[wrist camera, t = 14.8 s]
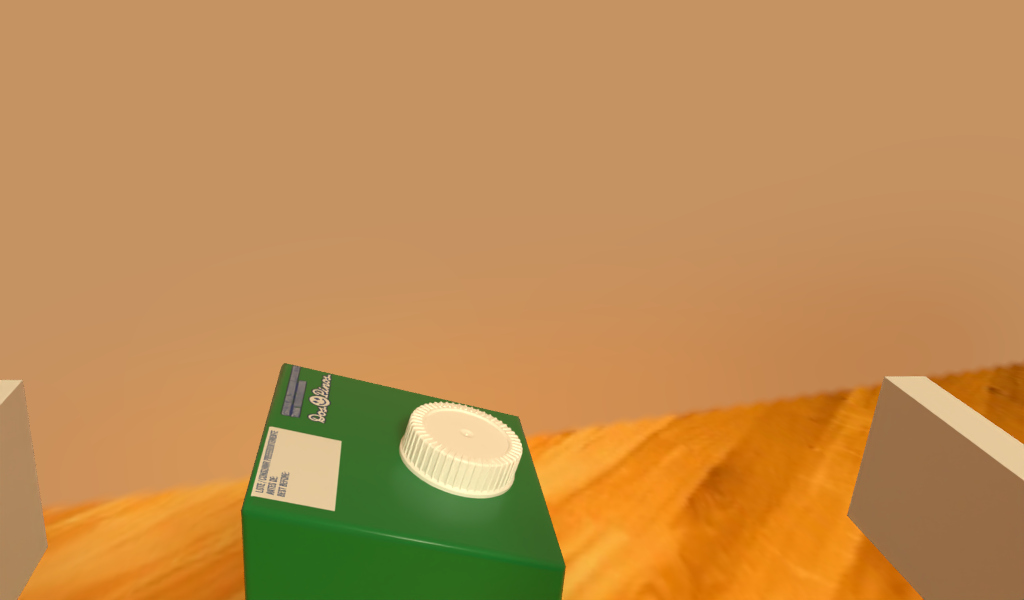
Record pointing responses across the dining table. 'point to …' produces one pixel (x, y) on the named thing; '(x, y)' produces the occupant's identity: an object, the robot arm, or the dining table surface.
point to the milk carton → (393, 499)
